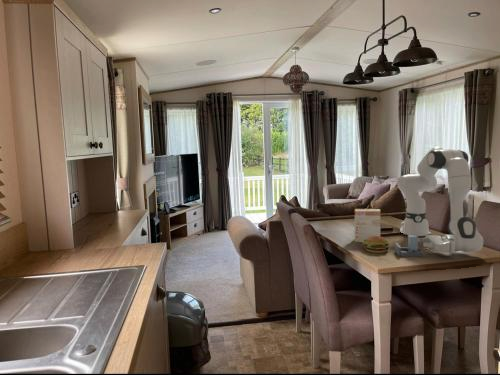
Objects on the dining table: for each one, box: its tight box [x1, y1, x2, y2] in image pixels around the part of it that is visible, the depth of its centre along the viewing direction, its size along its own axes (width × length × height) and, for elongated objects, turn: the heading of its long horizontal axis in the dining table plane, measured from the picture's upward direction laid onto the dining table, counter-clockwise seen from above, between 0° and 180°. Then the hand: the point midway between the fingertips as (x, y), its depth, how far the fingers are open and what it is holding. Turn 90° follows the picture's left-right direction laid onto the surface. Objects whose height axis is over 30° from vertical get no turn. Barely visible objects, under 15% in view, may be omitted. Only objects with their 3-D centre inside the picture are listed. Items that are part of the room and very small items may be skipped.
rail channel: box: [394, 242, 425, 258], centre depth 208 cm, size 9×13×5 cm
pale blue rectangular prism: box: [407, 235, 419, 252], centre depth 208 cm, size 4×4×10 cm
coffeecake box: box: [354, 208, 381, 243], centre depth 237 cm, size 15×7×20 cm, turn 74°
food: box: [361, 235, 390, 254], centre depth 217 cm, size 14×14×8 cm
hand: (420, 242), depth 207 cm, fingers open, 8 cm apart
